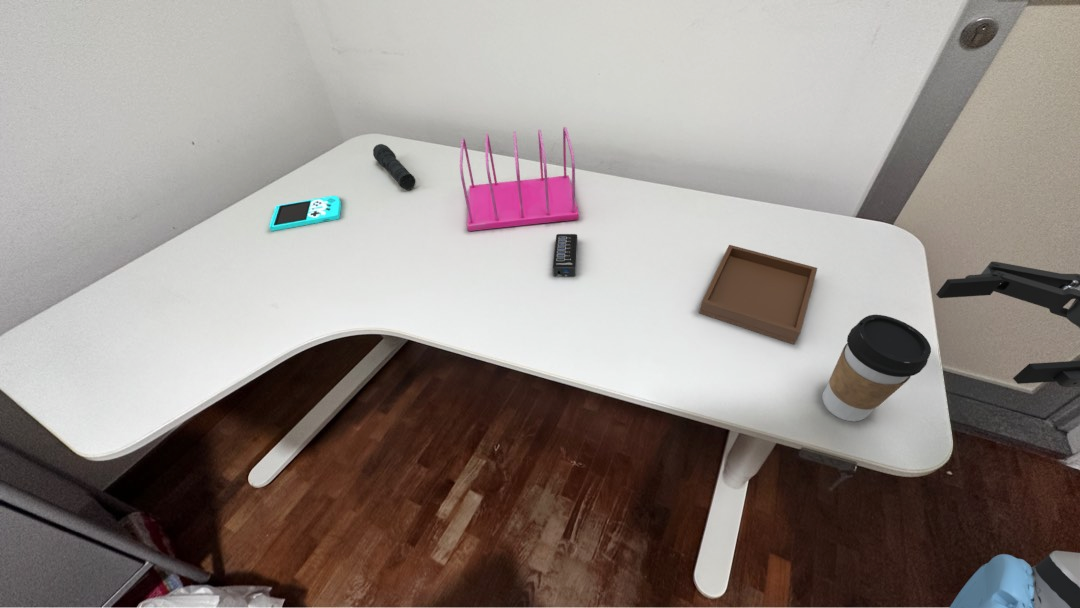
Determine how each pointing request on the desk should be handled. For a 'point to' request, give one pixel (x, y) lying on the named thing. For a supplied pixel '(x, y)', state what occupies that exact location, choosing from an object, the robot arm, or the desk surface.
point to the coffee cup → (874, 366)
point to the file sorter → (520, 194)
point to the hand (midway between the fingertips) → (979, 327)
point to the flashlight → (393, 166)
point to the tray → (760, 293)
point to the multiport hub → (565, 255)
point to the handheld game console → (305, 213)
